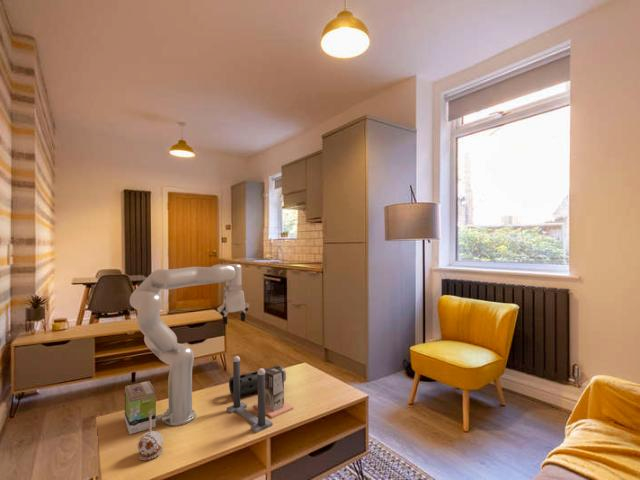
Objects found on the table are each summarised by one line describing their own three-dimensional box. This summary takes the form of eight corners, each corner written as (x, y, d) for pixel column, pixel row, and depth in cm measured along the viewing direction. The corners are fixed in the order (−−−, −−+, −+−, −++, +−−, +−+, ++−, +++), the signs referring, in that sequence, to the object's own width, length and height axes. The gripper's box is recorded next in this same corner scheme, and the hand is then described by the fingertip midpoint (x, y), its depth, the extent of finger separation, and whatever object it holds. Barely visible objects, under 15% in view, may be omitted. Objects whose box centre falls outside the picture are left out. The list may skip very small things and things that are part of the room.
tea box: (156, 426, 138) (156, 391, 138) (129, 435, 132) (129, 398, 132) (149, 412, 150) (149, 379, 150) (124, 419, 144) (123, 385, 144)
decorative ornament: (133, 460, 116) (132, 417, 116) (148, 447, 124) (147, 406, 124) (153, 462, 115) (152, 419, 115) (166, 449, 123) (166, 408, 123)
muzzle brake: (228, 394, 167) (228, 374, 167) (278, 381, 182) (278, 362, 182) (235, 402, 159) (235, 380, 159) (286, 387, 174) (286, 368, 174)
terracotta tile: (271, 418, 143) (271, 416, 143) (253, 406, 154) (253, 404, 154) (293, 408, 151) (293, 407, 152) (274, 397, 163) (274, 396, 163)
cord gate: (255, 433, 132) (255, 372, 133) (226, 410, 151) (226, 357, 151) (272, 425, 138) (272, 367, 138) (242, 404, 156) (242, 353, 156)
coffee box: (284, 406, 152) (284, 371, 152) (273, 411, 147) (273, 375, 148) (272, 400, 158) (272, 366, 159) (261, 404, 154) (261, 370, 154)
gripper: (221, 291, 158) (221, 327, 158) (252, 287, 170) (253, 321, 169) (214, 289, 164) (214, 324, 163) (245, 286, 175) (245, 318, 175)
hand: (234, 322), depth 166 cm, fingers open, 9 cm apart
